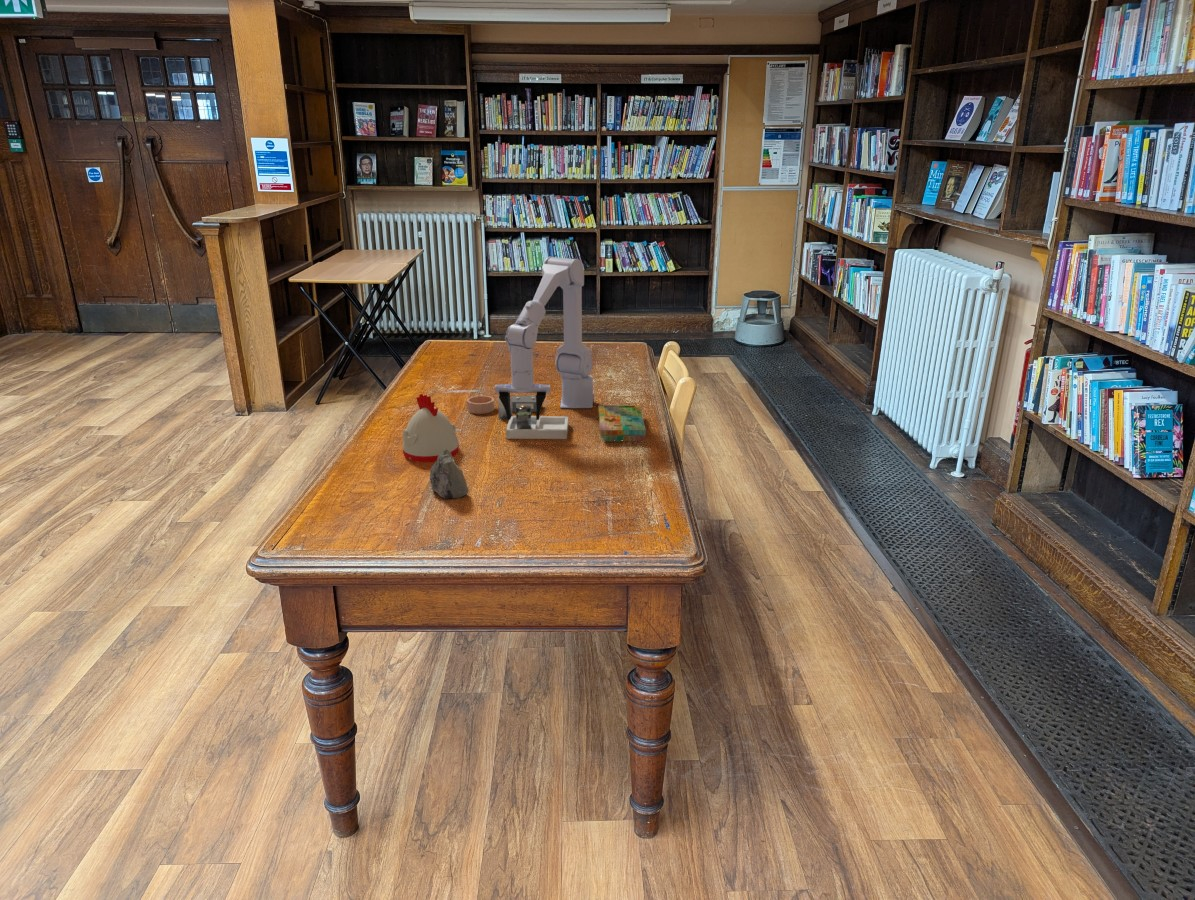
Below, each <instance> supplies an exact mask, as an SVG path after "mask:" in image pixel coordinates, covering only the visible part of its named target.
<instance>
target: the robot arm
mask: <svg viewBox="0 0 1195 900" xmlns="http://www.w3.org/2000/svg"><path fill="white" fill-rule="evenodd" d="M541 274H542V275H541V276H542V278H541V280H540V282H539V285H538V287H537V289H536V292H535V294H534V296H533V299H532V300H528V301H527V302H526V303H525V305H524V306H523V308H522V311H520V313H519V315H518V317H517V319H516V321H515V323H513V324H511V325H509V326H508V327H507V330H506V331H505V336H504V341H505V343H506V344H507V347H508V348H507V349H508V352H509V353H510V370H511V371H510V372H511V373H510V374H511V382H510V383H503V384H502V383H501V384H495V386H494V394H496V395H497V394H498V397H499V399H500V401H501V402H502V404H503V406H504V408H505V411H506V414H507V418H508V420H507V421H509V420H510V419H511V408H510V396H511V394H536V395H535V396H536V406H537V412H535V413H536V414H535V416H536V420H539V418H540V415H541V409H542V406H543V404H544V403H545V399H546V397H547V395H550V394H551V384H542V383H541V384H540V383H535V382H534V362H533V358H534V357H533V347H534V346H535V344H537V339H538V333H539V329H538V328H539V326H540V325H541V323H542V321H543V319H544V317H545V315H546V312H547V311H546V308H545V306H546V305H547V304H548V302H549V300H550V299H551V297H552V296H553V294H554V292H555V291H556V290H557V288H558V287H560V289H562V297H563V298H562V303H563V304H562V305H563V306H562V307H563V310H562V311H563V312H562V313H563V344H561V345H560V346H559V347H558V348H557V349H556V357H555V361H554V362H555V363H554V366H555V369H556V371H557V372H558V373H559V376H561V398H560V399H561V400H560V406H559V408H560V409H593V407H594V406H593V405H594V404H593V403H594V401H595V394H594V377H593V376H594V375H590V374H591V372H592V370H593V365H594V363H593V359H592V351H591V349H590V348H589V347H588V346H587V345H586V344H584V343H583V327H582V326H583V320H582V319H583V318H582V317H583V316H582V314H583V313H582V311H583V310H582V309H583V308H582V307H583V303H582V301H583V300H582V298H583V297H582V294H583V293H582V292H583V291H582V290H583V288H582V287H584V285H585V266H584V264H583V262H582V261H581V260H580V259H579V258H567V257H556V256H551V255H550V256H547V257H546V258H545V260H544V262H543V264H542V266H541Z"/></svg>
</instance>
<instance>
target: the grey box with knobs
mask: <svg viewBox="0 0 1195 900" xmlns="http://www.w3.org/2000/svg"><path fill="white" fill-rule="evenodd" d="M511 397H512V408H513V413H516V407H517V406H520V405H528V406H530V407H531V413H536V412H537V406H536V395H512V396H511Z"/></svg>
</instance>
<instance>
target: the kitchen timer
mask: <svg viewBox="0 0 1195 900" xmlns="http://www.w3.org/2000/svg"><path fill="white" fill-rule="evenodd" d="M418 396H419V397H416V398H415V399H416V402H417V405H418V408H419V410H418V411H416V413H414V414H413V416H412V417H411V418H410V420H409V421H408V424H407V426H406V428H405V429H403V430H402V440H403V441H402V454H404V455H403V457H404V456H405V457H406V458H405V457H404V458H405V459H406V460H409V461H411V460H412V462H416V461H417V463H435V462H436V461H437V458H438V456H439V455H440V453H441V452H442V451H444V450H446V449H447V450H448V451H449V452H450V453H451V455H452V457H453V458H454V457H455V456H456V455H458V454H459V451H460V446H459V445H460V443H459V439H458V436H457V434H456V426H455V425H456V424H455V423H451V421H450V419H448V418H449V417H447V416H446V415H445V414H444V413H443V412H442V411H440V410H439V407H435V401H433V402H432V399H431V397H432V396H431V395H429V396H428V395H427V394H423V393H420V394H418Z"/></svg>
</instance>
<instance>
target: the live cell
mask: <svg viewBox="0 0 1195 900" xmlns="http://www.w3.org/2000/svg"><path fill="white" fill-rule="evenodd" d="M515 416H516V424H517V429H531V416H532V412H531V407H530V406H528V405H520V406H517V407H516V412H515Z"/></svg>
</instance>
